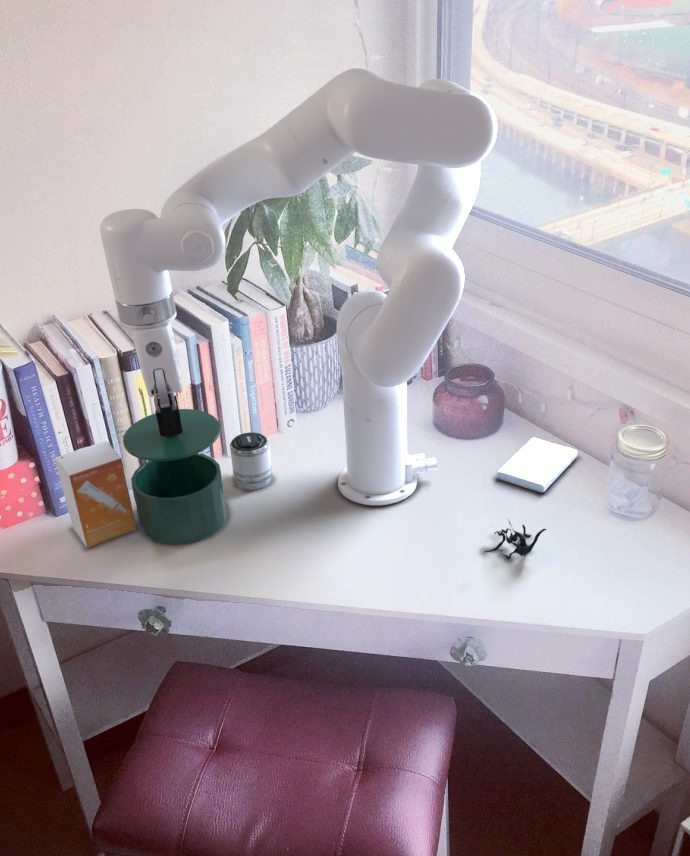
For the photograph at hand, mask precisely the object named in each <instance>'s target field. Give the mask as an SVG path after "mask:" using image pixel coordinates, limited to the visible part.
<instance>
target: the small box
mask: <svg viewBox="0 0 690 856" xmlns="http://www.w3.org/2000/svg"><path fill="white" fill-rule="evenodd" d="M54 460H55V465H56V469H57V472H58V476H59V479H60V483H61V487H62V488H61V489H62V492H63V495H64V499H65V503H66V508H67V511H68V514H69V517H70V521H71V525H72V529H73V531H74V532H75V533H76V534H77V536H78V537H79V538H80V540H81V541H82V543H83V544H84V545H85V547H86V548H87V549H88V548H91V547H93V546H95V545H98V544H101V543H103V542H106V541H108V540H111V539H114V538H116V537H119V536H122V535H124V534H127V533H131V532H134V531H136V530H137V524H136V520H135V515H134V510H133V506H132V500H131V495H130V491H129V488H128V482H127V481H128V480H127V477H126V472H125V468H124V467H125V466H124V463H123V459H122V457H121V455H120V454H119V453H118V452H117V451H116V450H115V448H113V446H112V445H111V444H110V442H108V441H107V440H105V441H102V442H98V443H95V444H92V445H89V446H85V447H81V448H78V449H75V450H74V451H71V452H67V453H64V454H62V455H59V456H55V457H54Z"/></svg>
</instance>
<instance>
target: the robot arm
mask: <svg viewBox="0 0 690 856" xmlns="http://www.w3.org/2000/svg"><path fill="white" fill-rule="evenodd" d="M497 133H498V121H497V116H496V114H495V112H494V110H493V108H492V107H491V105H490V104H489V103H488V101H487V100H486V99H485V98H483V97H482V96H480V95H478V94H477V93H475V92H473V91H471V90H468V89H466V88H465V87H463V86H462V85H461V84H458V83H457V82H454V81H452V80H448V79H444V78H431V79H428V80H426V81H424V82H422V83H421V84H420V85H419V86H411V85H406V84H401V83H396V82H393V81H391V80H390V81H389V80H386V79H385V78H383V77H381V76H380V75H378V74H377V73H375V72H373V71H372V70H371V71H370V70H368V69H365V68H361V67H360V68H359V67H355V68H350V69H347V70H344V71H343V72H340V73H339V74H338V75H336V76H335V77H333V78H331V79H330V80H329V81H327V82H326V83H325V84H324V85H323V86H322V87H320V88H319V89H318V90H316V91H315V92H314V93H313V94H311V95H310V96H309V97H307V98H306V99H305V100H304V101H302V102H301V103H300V104H298V105H297V106H296V107H294V108H293V109H292V110H291V111H290V112H288V113H287V114H286V115H284V116H283V117H282V118H281V119H280V120H278V121H277V122H275V124H273V125H272V126H270V127H268V129H267V130H265V131H264V132H263V133H261V134H260V135H258V136H257V137H255V138H252V139H250V140H248V141H246V142H244V143H243V144H240V146H238V147H236V148H235V149H232V150H230V151H228V152H227V153H225V154H223V155H222V156H220V157H218V158H216V159H215V160H213V161H211V162H210V163H209V164H207V165H206V166H205V167H203V168H202V169H200V170H199V171H198V172H196V173H195V174H194V175H193V176H192V177H190V178H189V179H188V180H187V181H185V182H184V183H183V184H182V185H180V186H179V187H178V188H177V189H175V190H174V191H173V192H172V193H170V195H169V196H168V198H167V199H166V200H165V202H164V203H163V205H162V207H161V210H160V215H159V217H158V216H157V215H156V214H155V213H154V212H152V211H150V210H148V209H143V208H129V209H128V208H127V209H122V210H118V211H114V212H112V213H110V214H108V215H106V216H105V217H104V218H103V219H102V220H101V222H100V225H99V226H100V227H99V233H100V237H101V242H102V246H103V252H104V256H105V261H106V265H107V271H108V274H109V279H110V283H111V287H112V292H113V297H114V301H115V305H116V310H117V314H118V319H119V323H120V325H121V326H123V327H124V328H127V329H129V330H131V331H130V332H131V335H132V340H133V345H134V349H135V354H136V357H137V362H138V364H139V369H140V372H141V376H142V379H143V382H144V386H145V389H146V392H147V396H149V397H150V398H153V402H154V407H155V408H154V409H155V410H154V411H155V413H156V417H157V422H158V427H159V432H160V435H161V436H169V435H175V434H181V433H182V432H183V430H182V425H181V418H180V413H179V409H180V408H179V404H178V403H179V402H178V397H177V395H176V394H175V393H179V394H181V393H182V392H183V390H184V385H183V379H182V373H181V368H180V361H179V357H178V350H177V345H176V340H175V335H174V329H173V326H172V321H174V320H175V318H176V317H177V309H176V303H175V298H174V292H173V287H172V280H171V276H170V272H171V271H174V272H175V271H176V272H177V271H178V272H199V271H204V270H208V269H210V268H212V267H213V266H215V265H216V264H218V263H219V262H220V261H221V259H222V258H223V256H224V253H225V251H226V244H227V241H226V234H225V231H224V229H223V226H225V224H226V223H228V222H229V221H230V220H232V219H233V218H234V217H236V216H237V215H238V214H240V213H242V211H244V210H246V209H247V208H250V207H251V206H253V205H255V204H257V203H260V202H262V201H265V200H269V199H278V198H279V199H280V198H290V197H294V196H298V195H301V194H303V193H304V192H305V191H308V190H309V189H310V188H311V187H312V186H314V185H315V184H316V183H317V182H319V181H320V180H322V179H323V178H324V177H325V176H326V175H328V174H329V173H331V171H333V170H334V169H335V168H337V167H338V166H340V165H341V164H342V163H343V162H345V161H346V160H347V159H348V158H350V157H351V156H353V155H354V154H355V153H357V154H359V155H362V156H364V157H367V158H372V159H377V160H380V161H381V160H382V161H389V162H394V163H401V164H411V165H417V169H416V173H415V177H414V180H413V181H412V182H413V183H412V185H411V187H410V189H409V191H408V194H407V196H406V199H405V200H404V202H403V204H402V206H401V208H400V210H399V212H398V214H397V215H396V217H395V219H394V221H393V223H392V225H391V227H390V228H389V230H388V233H387V234H386V236H385V238H384V239H383V241H382V243H381V245H380V247H379V250H378V253H377V256H376V268H377V272H378V275H379V276H380V278H381V280H382V281H383V283H384V284H385V286H386V287H387V288H388V289H389V290H388V292H387V294H386V293H385V292H383V291H379V290H375V289H365V290H360V291H358V292H356V293H354V294H352V295H351V296H350V297H348V298H347V299H346V300H345V301H344V303H343V304H342V306H341V307H340V309H339V312H338V314H337V320H336V340H337V346H338V347H337V348H338V354H339V361H340V368H341V369H340V370H341V379H342V380H341V381H342V395H343V396H342V397H343V398H342V400H343V401H342V402H343V417H344V418H343V419H344V421H343V422H344V435H345V436H344V437H345V440H344V441H345V457H346V466H345V467H344V468H342V470H341V471H340V473H339V474H338V477H337V486H338V487H337V488H338V490H339V492H340V493H341V495H343V496H344V497H345V498H346V499H348V500H350V501H351V502H354V503H356V504H361V505H365V506H389V505H392V504H396V503H398V502H402V501H404V500H405V499H407V498H408V497H410V496H411V495H412V494H413V493H414V491H415V490H416V488H417V485H418V475H419V473H422V472H431V471H437V470H438V462H437V459H436V458H435V457H432V458H431V457H430V458H426V457H425V453H424V452H420V453H414V454H410V453H408V421H407V420H408V418H407V417H408V414H407V413H408V410H407V409H408V407H407V406H408V405H407V404H408V403H407V398H408V384H407V383H408V381H410V380H411V379H412V378H413V377H414V376H415V375H416V374H418V372H419V371H420V369H421V368H422V367H423V365H424V364H425V363H426V361H427V359H428V357H429V356H430V354H431V352H432V351H433V349H434V347H435V345H436V344H437V342H438V340H439V338H440V337H441V335H442V333H443V331H444V330H445V328H446V326H447V325H448V323H449V321H450V319H451V318H452V316H453V314H454V313H455V311H456V309H457V307H458V305H459V303H460V301H461V298H462V294H463V291H464V287H465V286H464V285H465V271H464V267H463V263H462V261H461V259H460V258H459V256H458V255H457V253H456V252H455V251H454V249H453V248H454V247H453V246H454V244H455V242H456V240H457V238H458V236H459V234H460V232H461V231H462V228H463V226H464V225H465V224H464V223H465V222H466V220H467V218H468V216H469V213H470V212H471V209H472V208H473V205H474V203H475V200H476V197H477V194H478V191H479V190H478V189H479V186H480V180H481V179H480V178H481V161H482V160H483V159H484V158H485V157H487V156H488V155H489V153H490V152H491V150H492V149H493V147H494V145H495V142H496V139H497ZM168 397H169V398H168ZM170 398H171V399H170ZM175 401H176V403H175ZM176 406H177V407H176ZM155 413H154V414H155Z"/></svg>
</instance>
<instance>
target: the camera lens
mask: <svg viewBox="0 0 690 856" xmlns="http://www.w3.org/2000/svg"><path fill="white" fill-rule="evenodd" d="M229 450H230V459H231V465H232V473H233V476H234V480H235V484H236V486H238V487H239V488H241V489H243V490H249V491H254V490H259V489H263V488H265V487H266V486H268V485H269V484H270V482H271V480H272V475H273V473H272V470H273V467H272V457H271V446H270V440H269V439H268V438H267V436H265V435H264V434H262V433H259V432H244V433H241V434H238V435H236V436H235V437H233V439H232V440H231V441H230V443H229Z"/></svg>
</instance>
